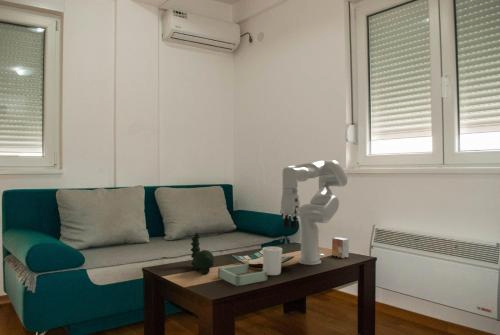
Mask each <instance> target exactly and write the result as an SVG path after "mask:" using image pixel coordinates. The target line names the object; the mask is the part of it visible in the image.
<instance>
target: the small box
mask: <svg viewBox="0 0 500 335" xmlns="http://www.w3.org/2000/svg"><path fill="white" fill-rule="evenodd" d="M331 239H332V240H331V242H332V243H331V244H332V246H331V256H332V255H333V257H336V256H337V258H340V257H341V259H345V257H346V258H349V257H350V256H349V248H350V246H349V245H350V244H349V243H350V242H349V240H350V239H349V238H344V237H340V236H339V237H337V236H336V237H332V238H331Z"/></svg>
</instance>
